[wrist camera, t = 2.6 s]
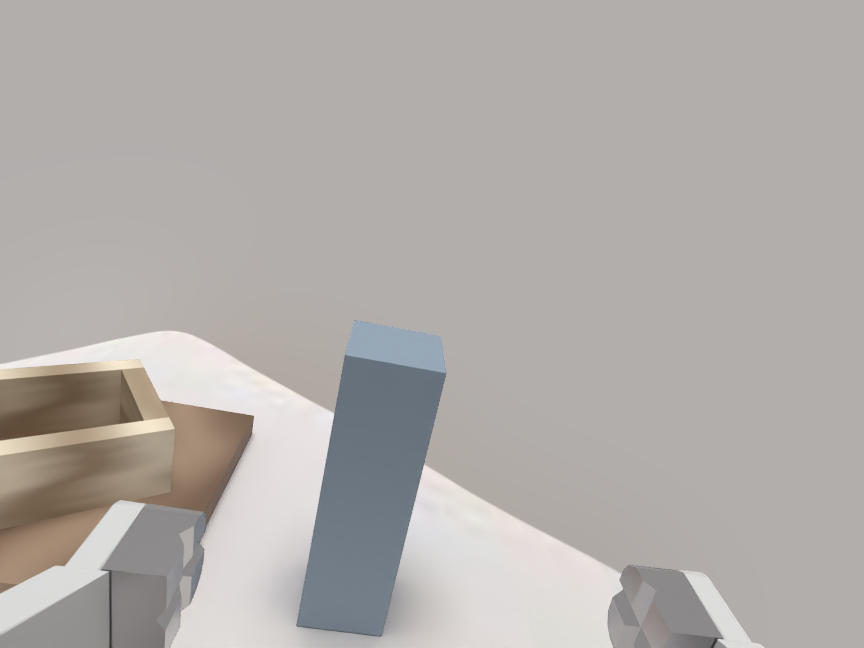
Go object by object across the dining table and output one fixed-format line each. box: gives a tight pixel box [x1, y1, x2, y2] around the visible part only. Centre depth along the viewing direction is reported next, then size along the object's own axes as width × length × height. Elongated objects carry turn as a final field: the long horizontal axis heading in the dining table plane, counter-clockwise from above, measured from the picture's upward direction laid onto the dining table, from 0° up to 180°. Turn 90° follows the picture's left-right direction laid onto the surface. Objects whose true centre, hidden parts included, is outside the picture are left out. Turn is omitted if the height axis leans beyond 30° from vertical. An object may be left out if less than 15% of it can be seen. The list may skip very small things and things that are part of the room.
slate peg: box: [297, 320, 446, 636], centre depth 25 cm, size 4×4×14 cm
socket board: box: [0, 359, 254, 594], centre depth 30 cm, size 16×16×6 cm
